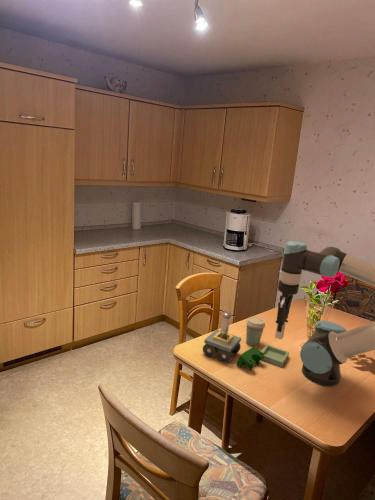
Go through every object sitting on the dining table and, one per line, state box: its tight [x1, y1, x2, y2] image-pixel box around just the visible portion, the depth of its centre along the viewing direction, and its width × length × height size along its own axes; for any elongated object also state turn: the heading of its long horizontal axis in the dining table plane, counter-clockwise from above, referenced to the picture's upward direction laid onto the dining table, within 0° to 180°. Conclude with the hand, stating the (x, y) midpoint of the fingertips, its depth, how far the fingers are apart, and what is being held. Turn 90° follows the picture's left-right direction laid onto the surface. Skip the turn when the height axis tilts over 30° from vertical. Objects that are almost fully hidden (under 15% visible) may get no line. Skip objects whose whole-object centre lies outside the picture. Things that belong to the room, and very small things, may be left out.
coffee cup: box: [245, 316, 266, 348], centre depth 172 cm, size 8×8×12 cm
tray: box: [260, 344, 290, 368], centre depth 163 cm, size 10×10×2 cm
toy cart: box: [202, 329, 242, 364], centre depth 161 cm, size 13×12×9 cm
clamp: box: [235, 346, 264, 371], centre depth 155 cm, size 12×6×9 cm, turn 132°
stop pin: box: [220, 310, 233, 340], centre depth 158 cm, size 4×4×12 cm
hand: (278, 337), depth 147 cm, fingers closed
